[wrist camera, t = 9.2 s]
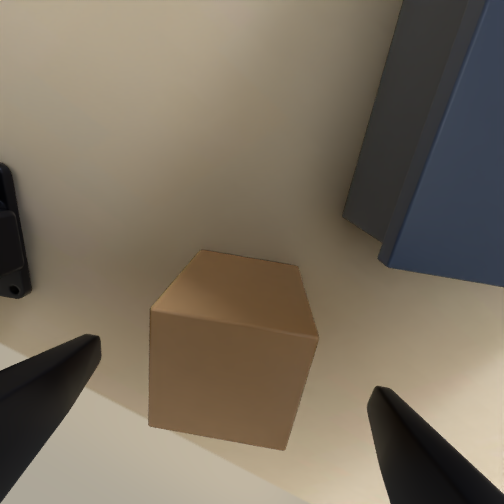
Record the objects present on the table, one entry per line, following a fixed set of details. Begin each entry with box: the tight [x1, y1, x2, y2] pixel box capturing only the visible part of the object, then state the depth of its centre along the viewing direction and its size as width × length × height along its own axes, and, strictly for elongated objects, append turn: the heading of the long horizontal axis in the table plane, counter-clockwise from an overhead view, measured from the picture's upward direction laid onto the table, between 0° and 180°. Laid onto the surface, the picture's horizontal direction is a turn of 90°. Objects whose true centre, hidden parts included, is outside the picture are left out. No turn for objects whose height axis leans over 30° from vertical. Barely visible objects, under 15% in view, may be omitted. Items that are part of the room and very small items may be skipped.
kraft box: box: [148, 250, 319, 451], centre depth 9 cm, size 5×5×5 cm
